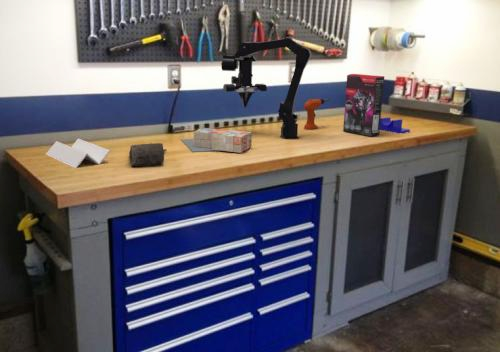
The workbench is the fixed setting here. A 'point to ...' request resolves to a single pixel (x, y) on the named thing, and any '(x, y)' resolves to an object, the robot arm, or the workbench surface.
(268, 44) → the robot arm
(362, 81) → the graphics card box
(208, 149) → the mat
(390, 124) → the mounting bracket
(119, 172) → the workbench surface
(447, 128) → the workbench surface
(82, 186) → the workbench surface
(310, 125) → the toy drill
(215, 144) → the stack of blocks
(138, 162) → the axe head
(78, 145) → the z bracket
